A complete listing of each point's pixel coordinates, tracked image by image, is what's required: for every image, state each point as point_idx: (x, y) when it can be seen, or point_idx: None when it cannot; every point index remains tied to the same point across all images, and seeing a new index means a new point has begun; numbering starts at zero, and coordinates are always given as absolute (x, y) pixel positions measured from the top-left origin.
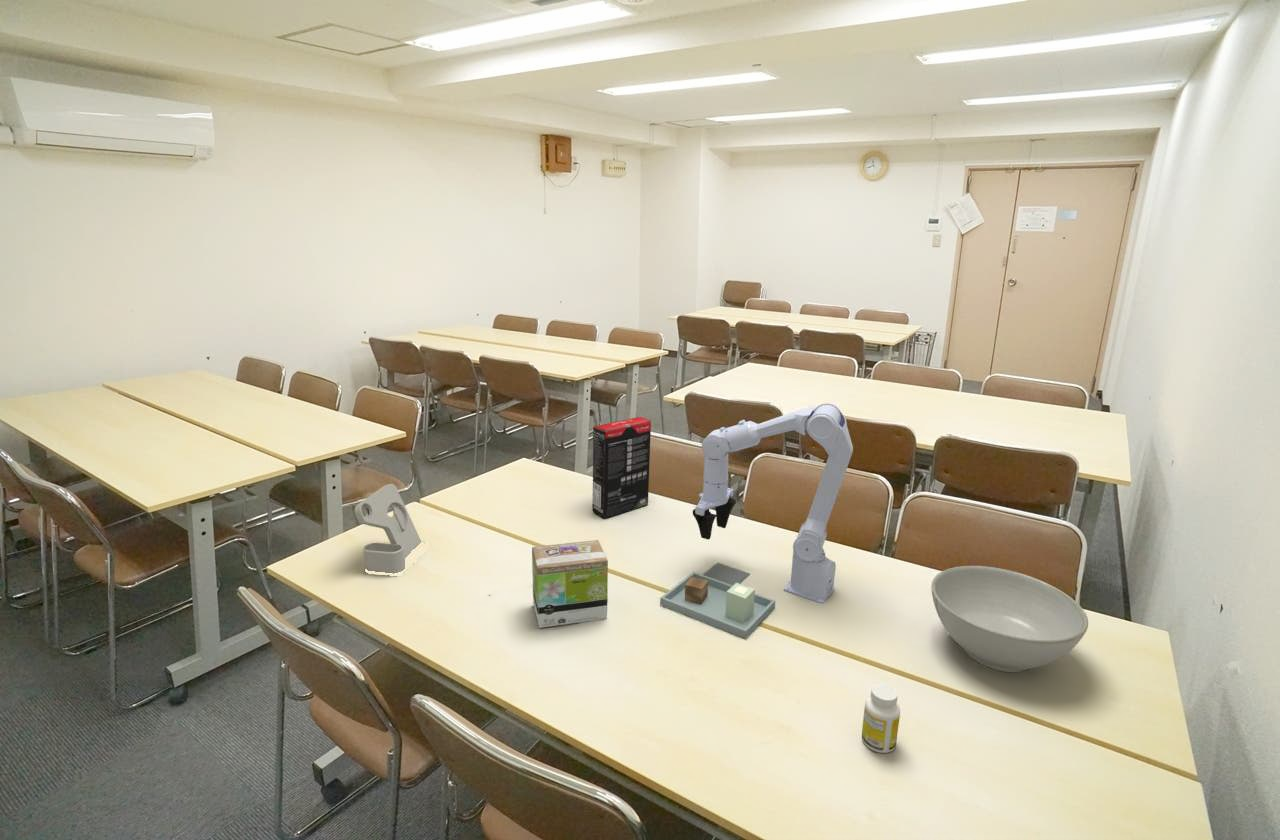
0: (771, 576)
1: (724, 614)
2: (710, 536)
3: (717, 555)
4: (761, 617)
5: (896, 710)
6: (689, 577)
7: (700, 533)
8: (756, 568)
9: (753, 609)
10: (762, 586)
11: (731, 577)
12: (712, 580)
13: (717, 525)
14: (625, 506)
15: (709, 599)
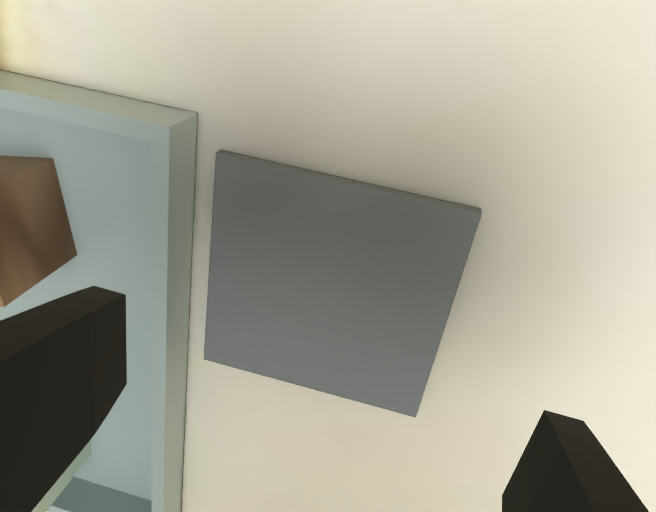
0: (449, 499)
1: None
2: (104, 414)
3: (636, 169)
4: None
5: None
6: (87, 126)
7: (43, 306)
8: (514, 432)
9: (77, 468)
10: (327, 468)
11: (319, 335)
12: (152, 275)
13: (545, 420)
14: None
15: (58, 271)
